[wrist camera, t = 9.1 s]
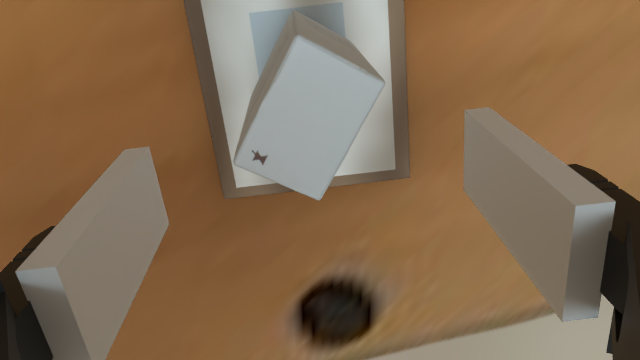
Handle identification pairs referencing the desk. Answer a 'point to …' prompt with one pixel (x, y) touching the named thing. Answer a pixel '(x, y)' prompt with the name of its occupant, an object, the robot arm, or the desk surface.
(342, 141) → the skincare box
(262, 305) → the desk surface
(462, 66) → the desk surface
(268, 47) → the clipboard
